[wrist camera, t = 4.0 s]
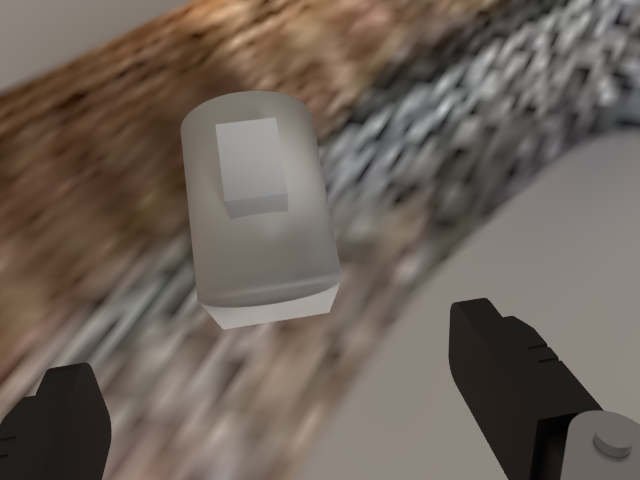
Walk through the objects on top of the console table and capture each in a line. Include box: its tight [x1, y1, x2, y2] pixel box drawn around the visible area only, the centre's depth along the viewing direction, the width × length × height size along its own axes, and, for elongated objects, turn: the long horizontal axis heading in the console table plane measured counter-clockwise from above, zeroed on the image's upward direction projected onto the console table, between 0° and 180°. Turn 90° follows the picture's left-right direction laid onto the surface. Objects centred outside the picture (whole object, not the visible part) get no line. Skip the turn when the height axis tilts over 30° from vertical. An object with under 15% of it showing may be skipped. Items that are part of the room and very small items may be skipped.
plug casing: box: [181, 91, 342, 329], centre depth 18 cm, size 4×6×9 cm
